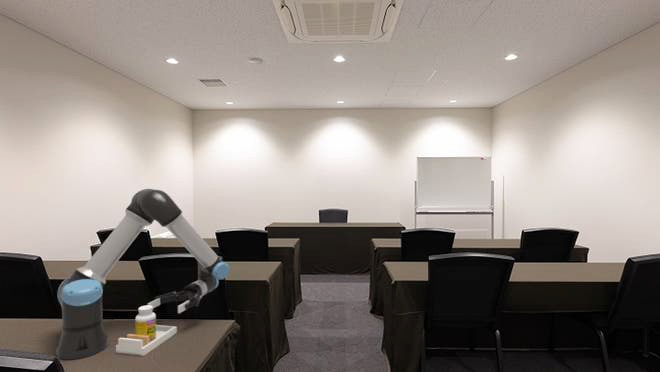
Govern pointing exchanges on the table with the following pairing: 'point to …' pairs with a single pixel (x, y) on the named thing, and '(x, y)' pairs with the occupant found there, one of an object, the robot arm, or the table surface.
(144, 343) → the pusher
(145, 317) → the supplement bottle
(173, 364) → the table surface
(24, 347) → the table surface
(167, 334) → the tray
